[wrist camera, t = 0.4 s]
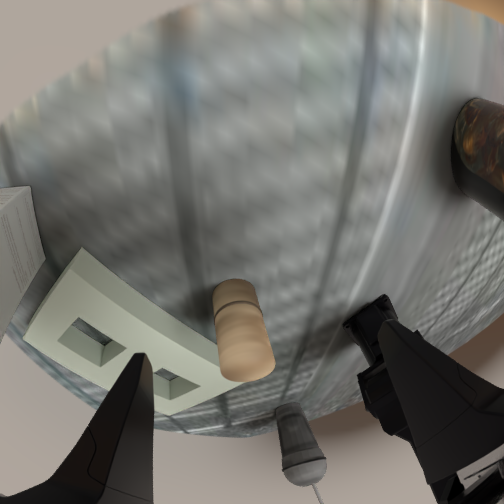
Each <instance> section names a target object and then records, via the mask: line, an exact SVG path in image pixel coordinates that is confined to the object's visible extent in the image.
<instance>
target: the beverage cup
mask: <svg viewBox="0 0 504 504" xmlns="http://www.w3.org/2000/svg"><path fill="white" fill-rule="evenodd" d="M276 420H277V427H278V433H279V440H280V446H281V453H282V467H283V469H282V471H283V472H284V475H285V477H286V478H287V479H288V480H289V481H290V482H291V483H293V484H294V485H297V486H303V487H304V486H309V485H312V486H313V488H314V491H315V493H316V495H317V498H318V500H319V502H320V504H324V503H323V501H322V499H321V496H320V494H319V492H318V490H317V487H316V485H315V483H317V482H319V481H320V480H321V479H322V478H323V476H324V474H325V472H326V468H327V464H326V457H324V454H323V453H322V451H321V449H320V448H319V446H318V444H317V442H316V439H315V437H314V435H313V432H312V430H311V428H310V425H309V423H308V421H307V418H306V416H305V414H304V411H303V410H302V408H301V405H300V404H299V403H289V404H285V405H282V406H280V407H279V408H277V409H276Z"/></svg>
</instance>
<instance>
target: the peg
mask: <svg viewBox="0 0 504 504" xmlns="http://www.w3.org/2000/svg"><path fill="white" fill-rule="evenodd" d="M212 299H213V309H214V324H215V329H216V338H217V347H218V355H219V363H220V371H221V374H222V376H223V377H224V378H226V379H228V380H230V381H234V382H250V381H255V380H258V379H261V378H263V377H265V376H267V375H268V374H269V373H271V372H272V371H273V369H274V367H275V359H274V356H273V352H272V349H271V345H270V342H269V338H268V334H267V331H266V327H265V324H264V320H263V314H262V311H261V309H260V306H259V302H258V299H257V295H256V292H255V288H254V287H253V285H252V284H251V283H249V282H248V281H245V280H242V279H230V280H226V281H224V282H222V283H220V284H219V285H218V286H217V287H216V288H215V289H214V291H213V295H212Z"/></svg>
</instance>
